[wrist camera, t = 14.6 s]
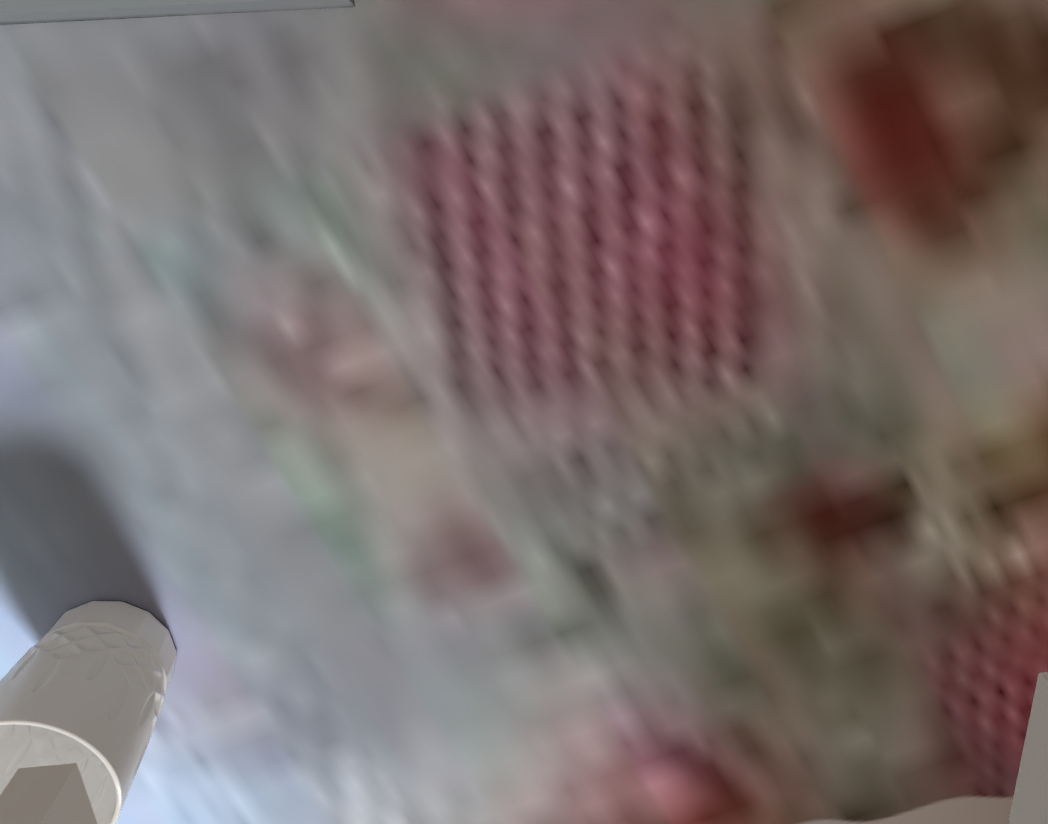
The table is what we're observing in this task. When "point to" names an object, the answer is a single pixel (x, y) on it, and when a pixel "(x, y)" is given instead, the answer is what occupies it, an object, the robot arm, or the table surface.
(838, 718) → the table surface
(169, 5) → the tray
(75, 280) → the table surface
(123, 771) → the white cup
